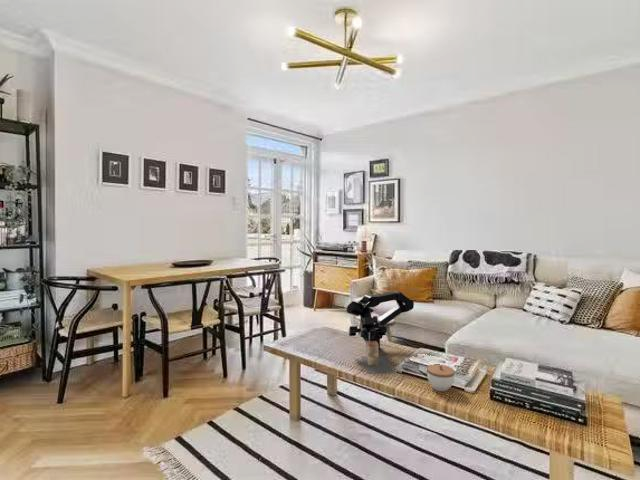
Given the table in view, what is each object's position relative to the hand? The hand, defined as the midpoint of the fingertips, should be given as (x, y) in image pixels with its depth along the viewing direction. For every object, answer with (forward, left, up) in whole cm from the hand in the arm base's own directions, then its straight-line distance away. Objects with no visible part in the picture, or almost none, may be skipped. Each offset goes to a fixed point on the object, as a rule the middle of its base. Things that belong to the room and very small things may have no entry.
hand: (369, 346), depth 179 cm
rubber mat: (-2, +7, -6) cm, 10 cm away
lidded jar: (-23, +31, -7) cm, 39 cm away
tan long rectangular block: (0, +6, -6) cm, 8 cm away
